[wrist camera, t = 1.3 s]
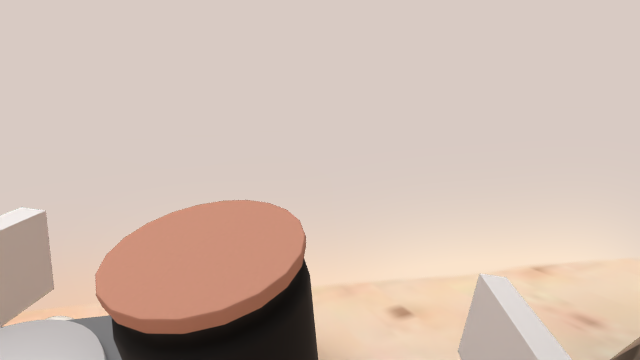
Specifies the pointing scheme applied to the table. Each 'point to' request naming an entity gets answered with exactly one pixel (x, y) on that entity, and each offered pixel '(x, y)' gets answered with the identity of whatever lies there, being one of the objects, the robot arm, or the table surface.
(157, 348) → the coffee jar
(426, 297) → the table surface
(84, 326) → the kitchen scale
